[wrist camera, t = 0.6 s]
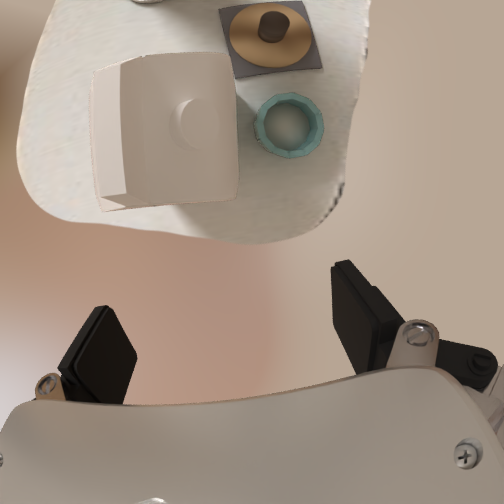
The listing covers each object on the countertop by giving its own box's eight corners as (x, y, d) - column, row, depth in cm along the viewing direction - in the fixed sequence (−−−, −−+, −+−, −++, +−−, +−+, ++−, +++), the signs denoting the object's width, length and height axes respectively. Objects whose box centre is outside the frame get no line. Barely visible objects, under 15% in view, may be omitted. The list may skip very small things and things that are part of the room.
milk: (151, 101, 31) (22, 54, 7) (236, 92, 31) (239, -8, 7) (156, 185, 35) (39, 265, 11) (239, 178, 36) (249, 254, 12)
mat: (218, 10, 26) (218, 9, 25) (301, 2, 25) (301, 0, 25) (235, 78, 30) (235, 78, 30) (321, 68, 30) (322, 67, 30)
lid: (222, 10, 25) (221, -4, 21) (299, 3, 25) (306, -11, 21) (238, 74, 30) (238, 64, 25) (318, 64, 29) (328, 55, 25)
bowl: (248, 104, 32) (250, 98, 28) (306, 95, 32) (316, 90, 28) (261, 160, 35) (264, 162, 31) (317, 150, 35) (328, 152, 31)
